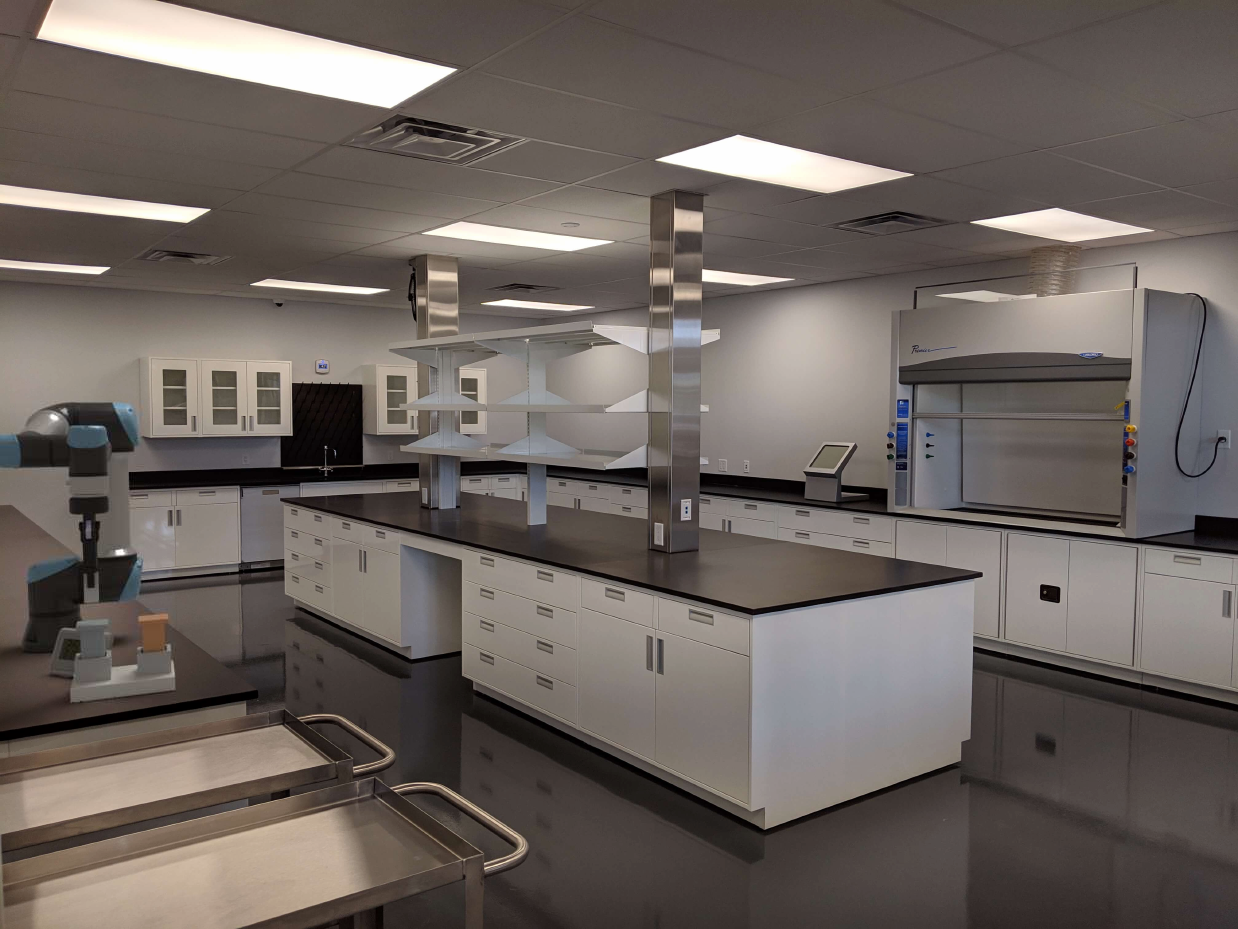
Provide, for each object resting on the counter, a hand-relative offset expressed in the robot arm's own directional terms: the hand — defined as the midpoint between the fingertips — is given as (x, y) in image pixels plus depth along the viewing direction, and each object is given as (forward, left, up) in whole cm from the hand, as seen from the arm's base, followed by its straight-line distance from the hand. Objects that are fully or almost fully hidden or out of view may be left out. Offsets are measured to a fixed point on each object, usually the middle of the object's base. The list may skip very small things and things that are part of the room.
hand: (91, 601), depth 198 cm
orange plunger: (0, +12, -13) cm, 17 cm away
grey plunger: (0, 0, -13) cm, 13 cm away
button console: (0, +6, -20) cm, 21 cm away
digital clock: (-15, -3, -20) cm, 26 cm away
